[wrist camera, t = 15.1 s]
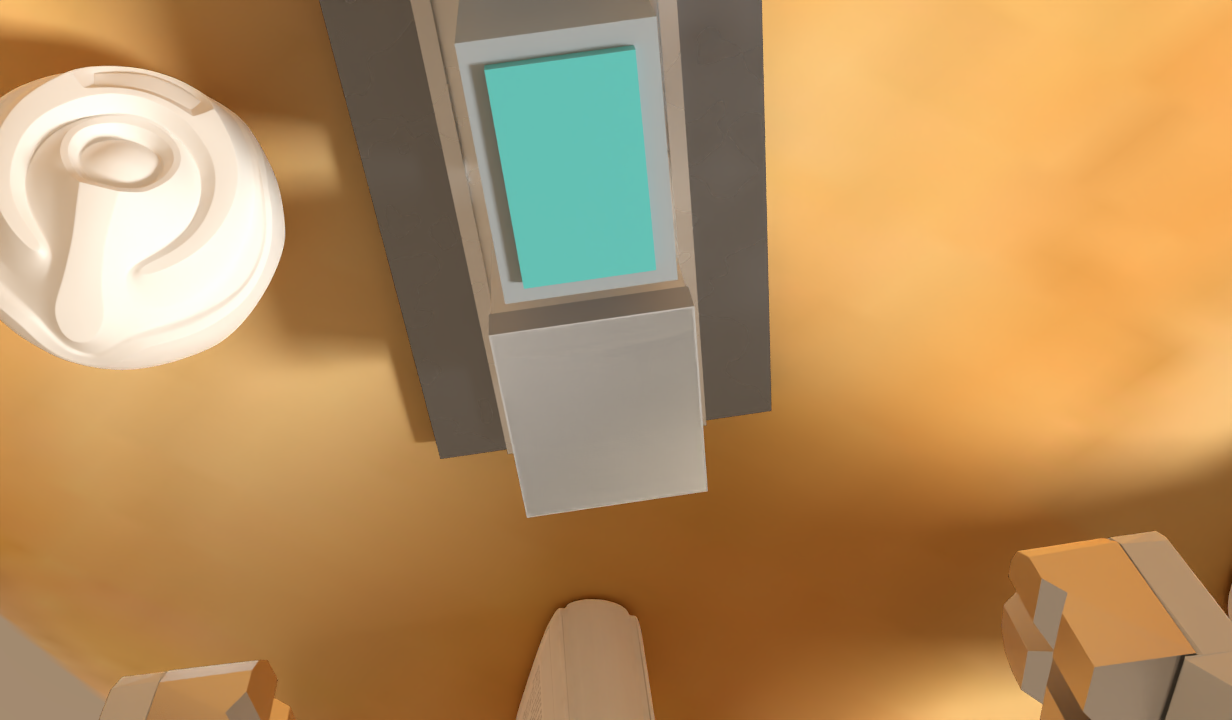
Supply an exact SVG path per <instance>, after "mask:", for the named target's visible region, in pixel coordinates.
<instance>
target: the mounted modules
mask: <svg viewBox="0 0 1232 720" xmlns="http://www.w3.org/2000/svg"><path fill="white" fill-rule="evenodd" d="M676 263H677V275H678V280H672V281H665V282H658V283H651V284H644V285H637V286H630V287H623V288H616V289H609V290H602V291H595V292H588V293H580V294H573V295H566V296H559V297H552V298H545V299H538V300H531V301H524V302H517V303H510V304H505V300H504V295H503V290H502V285H501V280H500V275H499V270H498V264H497V259H496V254H495V249H494V244H493V239H492V234H491V314H489V340H490V345H491V349H492V354H493V359H494V364H495V368H496V373H497V378H498V383H499V387H500V392H501V397H502V402H503V406H504V411H505V416H506V421H507V425H508V430H509V435H510V440H511V444H512V449H513V454H514V459H515V463H516V468H517V473H518V478H519V482H520V487H521V492H522V497H523V501H524V506H525V511H526V515H527V518H529V517H536V516H543V515H549V514H556V513H563V512H570V511H577V510H583V509H590V508H597V507H604V506H610V505H617V504H624V503H631V502H638V501H644V500H651V499H658V498H665V497H672V496H678V495H685V494H692V493H699V492H706V491H708V487H707V473H706V459H705V446H704V432H703V418H702V404H701V390H700V376H699V362H698V349H697V335H696V321H695V307H694V303H693V300H692V297H691V294H690V291H689V287H688V286H685V282H684V279H683V276H682V273H681V270H680V266H679V263H678V260H677V257H676Z"/></svg>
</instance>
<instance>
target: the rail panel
mask: <svg viewBox="0 0 1232 720" xmlns="http://www.w3.org/2000/svg"><path fill="white" fill-rule="evenodd" d="M319 1H320V5H321V9H322V13H323V16H324V20H325V24H326V28H327V31H328V35H329V39H330V43H331V47H332V50H333V54H334V58H335V62H336V66H337V69H338V73H339V77H340V81H341V84H342V88H343V92H344V96H345V100H346V103H347V107H348V111H349V115H350V118H351V122H352V126H353V130H354V134H355V137H356V141H357V145H358V149H359V152H360V156H361V160H362V164H363V168H364V171H365V175H366V179H367V183H368V186H369V190H370V194H371V198H372V202H373V205H374V209H375V213H376V217H377V221H378V224H379V228H380V232H381V236H382V239H383V243H384V247H385V251H386V255H387V258H388V262H389V266H390V270H391V273H392V277H393V281H394V285H395V289H396V292H397V296H398V300H399V304H400V307H401V311H402V315H403V319H404V323H405V326H406V330H407V334H408V338H409V342H410V345H411V349H412V353H413V357H414V360H415V364H416V368H417V372H418V376H419V379H420V383H421V387H422V391H423V394H424V398H425V402H426V406H427V410H428V413H429V417H430V421H431V425H432V428H433V432H434V436H435V440H436V444H437V447H438V451H439V455H440V459H444V458H450V457H457V456H464V455H471V454H478V453H485V452H492V451H498V450H505V449H507V452H508V454H512V453H513V449H512V444H511V440H510V435H509V430H508V425H507V421H506V416H505V411H504V406H503V402H502V397H501V392H500V387H499V383H498V378H497V373H496V368H495V364H494V359H493V354H492V349H491V345H490V340H489V314H491V229H490V223H489V218H488V213H487V208H486V203H485V198H484V193H483V188H482V182H481V177H480V172H479V167H478V162H477V157H476V152H475V146H474V141H473V136H472V131H471V126H470V121H469V116H468V111H467V105H466V100H465V95H464V90H463V85H462V80H461V75H460V70H459V64H458V59H457V54H456V49H455V44H454V43H455V34H456V25H457V15H458V6H459V0H319ZM649 1H650V4H651V6H652V8H653V10H654V12H655V14H656V16H657V28H658V41H659V53H660V65H661V78H662V90H663V102H664V115H665V127H666V140H667V152H668V164H669V177H670V189H671V201H672V214H673V226H674V238H675V251H676V257H677V260H678V263H679V266H680V270H681V273H682V276H683V279H684V282H685V286H688V287H689V291H690V294H691V297H692V300H693V303H694V307H695V321H696V335H697V349H698V362H699V376H700V390H701V404H702V418H703V426H704V425H706V420H711V419H718V418H725V417H732V416H739V415H746V414H753V413H760V412H766V411H771V373H770V331H769V288H768V246H767V203H766V161H765V118H764V75H763V33H762V0H649Z"/></svg>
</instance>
